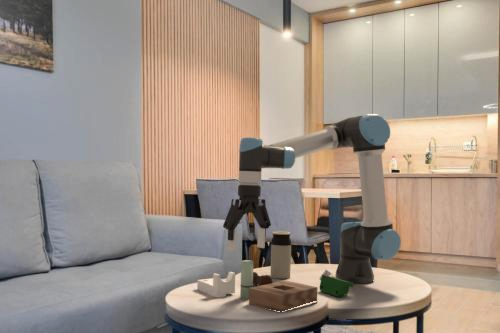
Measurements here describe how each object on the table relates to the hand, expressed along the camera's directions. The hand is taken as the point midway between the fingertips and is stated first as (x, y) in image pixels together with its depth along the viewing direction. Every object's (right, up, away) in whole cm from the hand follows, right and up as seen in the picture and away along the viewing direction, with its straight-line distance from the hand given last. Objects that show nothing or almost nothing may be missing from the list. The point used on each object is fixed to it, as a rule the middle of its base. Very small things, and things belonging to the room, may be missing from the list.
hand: (247, 249), depth 158 cm
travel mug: (+13, -18, +35) cm, 42 cm away
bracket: (-11, -16, +7) cm, 21 cm away
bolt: (+4, -17, +19) cm, 26 cm away
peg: (0, -16, 0) cm, 16 cm away
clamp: (+31, -18, +9) cm, 37 cm away
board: (+12, -16, -6) cm, 21 cm away
